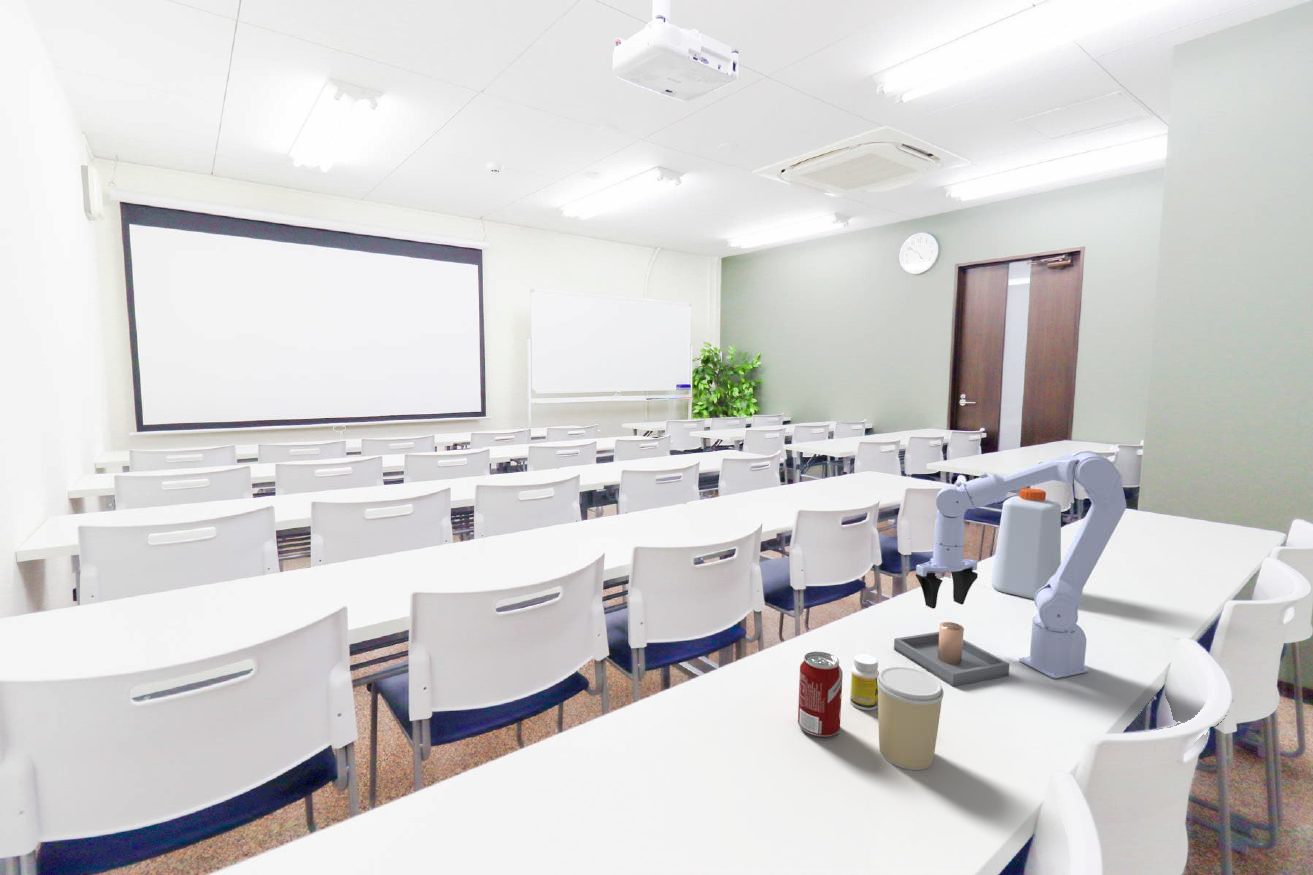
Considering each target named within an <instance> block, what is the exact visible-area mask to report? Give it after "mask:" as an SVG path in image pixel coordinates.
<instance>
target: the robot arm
mask: <svg viewBox="0 0 1313 875" xmlns="http://www.w3.org/2000/svg"><path fill="white" fill-rule="evenodd" d="M1073 479H1074V480H1075V482H1077V483H1078V484H1079V485H1080V486H1081V487H1082V488H1083V489H1084V490H1083V491H1084V492H1085V493H1086V495H1087V497H1088V499H1089V501H1090V502H1091V504H1090V507H1089V509H1088V511H1087V513H1086V514H1085V517H1084V519H1083V520H1082V523H1081V524H1080V526H1079V528H1078V530H1077V531H1076V534H1075V536H1074V538H1073V540H1072V541H1071V544H1070V545H1069V547H1068V549H1067V551H1066V553H1065V555H1064V557H1063V559H1061V564H1060V566H1059V568H1058V570H1057V572H1056V574H1054V575H1053V576H1052V577H1051V578H1050V579H1049V581H1048V582H1047V584H1046V585H1045V586H1044V587H1042V588H1040V589H1039V590H1038V591H1037V592H1036V594H1035V596H1034V599H1033V601H1034V605H1035V606H1036V608H1037V611H1038V612H1037V613H1036V614H1035V615H1034V616H1033V618H1032V624H1031V626H1032V627H1031V638H1030V649H1029V656H1025V657H1023V656H1022V657H1019V658H1018V661H1019V662H1020V663H1022V664H1025V665H1026V666H1028V667H1030V668H1032V669H1034V670H1036V671H1038V672H1041V673H1043V674H1044V675H1046V676H1048V677H1049V678H1052V679H1059V678H1064V677H1069V676H1074V675H1080V674H1084V673H1088V672H1089V669H1088V668H1086V667H1085V661H1086V652H1087V651H1086V650H1087V636H1086V634H1085V632H1084V630H1083V629H1082V627H1080V626H1079V624H1077V623H1078V619H1079V614H1078V610H1079V607H1080V605H1081V603H1082V596H1083V590H1084V587H1085V586H1086V583H1087V582H1088V580H1089V578H1090V576H1091V574H1092V573H1093V570H1094V569H1095V567H1096V565H1097V563H1098V561H1099V559H1100V558H1101V556H1102V554H1103V552H1104V550H1105V549H1106V546H1107V545H1108V543H1109V541H1110V539H1111V537H1112V535H1113V533H1114V532H1115V529H1117V526H1118V524H1119V522H1120V521H1121V520H1122V517H1123V515H1124V513H1125V511H1126V508H1127V501H1126V496H1125V492H1124V487H1123V486H1124V485H1123V481H1122V480H1123V475H1122V474H1121V472H1120V471H1119V470H1118V469H1117V467H1116V466H1115V464H1114V463H1113V461H1111V460H1109V459H1108V458H1106V457H1103V456H1102V455H1100V453H1099V454H1098V453H1097V452H1094V451H1091V450H1083V451H1078V452H1076V453H1074V454H1066V455H1061V456H1059V457H1055V458H1052V459H1048V460H1046V461H1044V462H1041V463H1037V464H1035V465H1032V466H1029V467H1026V468H1023V469H1021V470H1018V471H1015V472H1012V473H1010V474H1009V473H1008V474H1007V475H1003V476H1000V475H998V474H995V473H989V474H987V473H986V472H983V473H979V477H976V478H973V479H971V480H968V481H965V482H961V481H957V482H955V486H953V485H947V486H945V487H943V488H941V489H940V490H939V491H938V493H937V495H936V497H935V500H936V502H935V503H936V508H937V511H936V514H935V517H936V519H935V521H934V531H933V532H934V533H933V548H932V549H933V551H932V552H933V553H932V557H931V558H930V559H929V561H926V562H923V563H921V564H920V563H919V564H917V565H916V567H915V568H916V569H915V576H916V579H917V581H918V583H919V585H920V587H921V590H922V593H923V598H924V601H925V602H924V603H925V606H927V607H928V608H930V609H936V607H937V604H938V603H937V602H938V596H939V590H940V587H941V585H942V583H943V579H941V578H939V577H938V576H937V574H945V573H951V574H950V575H951V577H952V586H953V588H952V597H953V602H955V603H957V604H959V605H962V606H963V605H964V603H965V600H967V599H966V598H967V595H968V593H969V591H970V589H971V587H972V586H973V584H974V582H976V580H977V579H978V572H974V571H977V570H978V561H977V560H974V559H970V558H969V559H968V558H965V559H964V558H963V557H964V545H965V530H966V529H965V528H966V523H965V521H964V518H965V513H966V512H967V510H969V509H970V510H974V509H978V508H981V507H985V506H989V505H992V504H995V503H999V502H1002V501H1004V500H1005V499H1006V497H1007V496H1008V494H1009V493H1010V492H1012V491H1013V492H1014V491H1017V490H1019V489H1020V490H1021V489H1023V488H1027V487H1031V486H1035V485H1039V484H1042V483H1046V482H1047V483H1048V482H1050V481H1055V482H1061V483H1067V484H1073V483H1074V481H1073Z"/></svg>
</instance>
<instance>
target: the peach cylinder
mask: <svg viewBox="0 0 1313 875" xmlns="http://www.w3.org/2000/svg"><path fill="white" fill-rule="evenodd" d="M964 631H965V628H964V626H962V625H961V624H959V623H955V622H952V621H942V622H940V623H939V630H938V632H939V644H938V659H939V660H941V661H942V662H945V663H948V664H960V663H961V661H962V647H963V639H964Z"/></svg>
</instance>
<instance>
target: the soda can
mask: <svg viewBox="0 0 1313 875" xmlns="http://www.w3.org/2000/svg"><path fill="white" fill-rule="evenodd" d="M803 657H804V658H803V661H802V662H801V663H800V666H799V682H798V684H799V685H798V686H799V687H798V703H797V704H798V705H797V706H798V710H797V711H798V713H797V724H798V725H799V727H800V729H801V730H803V731H804V732H806V733H807V734H809V735H811V736H813V737H819V738H828V737H832V736H835V735H837V734H838V733H839V732H840V730H841V719H842V718H841V715H842V696H843V695H842V694H843V693H842V692H843V691H842V690H843V670H842V668H841V667H840V660H839V659H838V658H837V657H836V656H835V655H834V654H831V653H829V652H825V651H810V652H807V653H806V654H805V655H804V656H803Z"/></svg>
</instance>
